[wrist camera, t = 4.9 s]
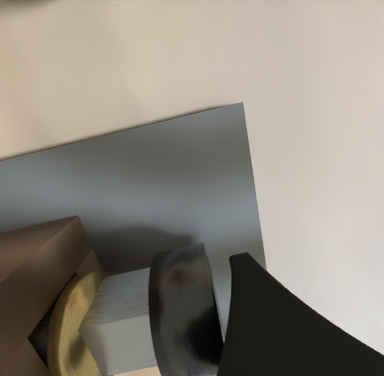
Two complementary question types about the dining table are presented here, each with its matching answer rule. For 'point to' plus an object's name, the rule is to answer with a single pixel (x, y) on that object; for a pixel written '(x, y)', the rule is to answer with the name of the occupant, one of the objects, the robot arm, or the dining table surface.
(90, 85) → the dining table surface
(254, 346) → the robot arm
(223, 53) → the dining table surface
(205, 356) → the shaft
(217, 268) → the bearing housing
